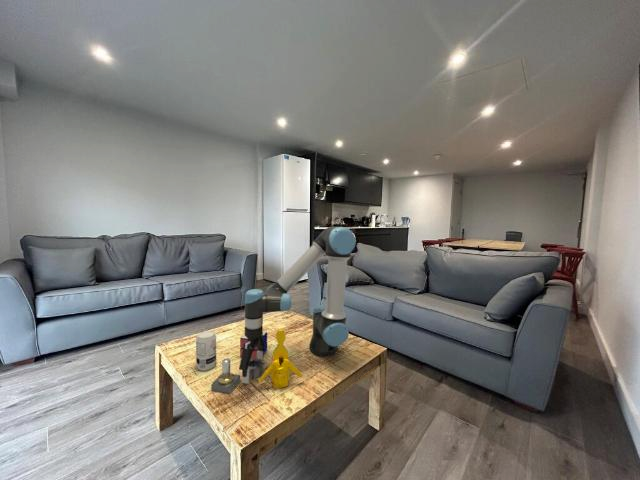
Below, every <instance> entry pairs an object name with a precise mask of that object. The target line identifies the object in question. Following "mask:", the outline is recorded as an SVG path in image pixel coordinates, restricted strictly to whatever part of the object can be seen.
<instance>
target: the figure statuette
mask: <svg viewBox="0 0 640 480" xmlns="http://www.w3.org/2000/svg"><path fill="white" fill-rule="evenodd" d="M275 338H276V341H277V345H276V347H274V349H273V351H272V362H271V364H269V366H268V367H267V369H266V370H265V371H264V372H263V374H262V376H261V377H259V378H258V382H259V383H262V382H263V381H264V380H265V379H266V378H267V377H268V376H269V375H270V378H271V379H270V380H271V383H272V384H273V387H272V388H274V389H276V390H278V389H283V388H285V387H287V386H288V385H289V380H290V376H291V373H290V372H291V371H292V373H294V374H295V375H297V376H298V377H299V378H301V377H303V373H301V372H300V371H299V369H298V368H297V367H296V366H295V365H294V364H293V362H292V361H291V360H290V359H289V357H290V356H289V351H288V349H287V347H286V346H285V345H284V343H285V341H286V333H285V331H284V328H282V327H281V328H278V329H277V331H276V334H275Z"/></svg>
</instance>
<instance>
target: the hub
mask: <svg viewBox="0 0 640 480" xmlns="http://www.w3.org/2000/svg"><path fill="white" fill-rule="evenodd" d="M248 367H249V380H255V379H260V378H261V377H262V375H263V374H264V372H265V371H264V360H263V361H262V360H261V359H256V358H255V359H254V358H253V359H250V363H249V366H248Z"/></svg>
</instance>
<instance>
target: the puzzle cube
mask: <svg viewBox="0 0 640 480" xmlns="http://www.w3.org/2000/svg"><path fill="white" fill-rule="evenodd" d="M263 338H264V342H265V347H264V348H265V351H264V350H263V356H264V355H265V353H266V352H267V351H268V331H264V330H263ZM239 340H240V342H239V344H240V345H239V347H240V348H239V357H240V358H241V357H242V352H243V344H244V343H247V341H248V338H247V337H246V336H245V334H243V335H242V336H241V337H240V339H239ZM250 349H251V348H250ZM257 350H258V349H257V347H255V349H254V352H252V356H251V359H253V358H254V359H255V358H256V359H257Z"/></svg>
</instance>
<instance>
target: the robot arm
mask: <svg viewBox="0 0 640 480" xmlns="http://www.w3.org/2000/svg"><path fill="white" fill-rule="evenodd" d="M356 244H357V243H356V237H355V235H354V233H353V232H352V231H351V230H350V229H348V228H346V227H344V226H329V227H327V228H325V229H323V230H322V232H320V233H319V235H318V236H317V237H316V238H315V239H314V240H313V241H312V245H311V246H310V247H309V248H308V249H307V250H306V251H305V252H304V253H303V254H302V255H301V256H300V257H299V258H298V259H297V260H296V261H295V262H294V263H293V264H292V265H291V267H289V268H288V269H287V270H286V271H285V272H284V274H282V276H280V278H278V279H277V281H276V282H274V284H273V283H272V284H271V285H269V286H268V287H267V289H266V293H264V291H263V290H262V289H257V288H256V289H255V288H254V289H253V288H252V289H249V290H247V291H246V292H245V295H244V296H245V297H244V319H243V320H244V335H245V336H246V337H247V338H248V341H247V343H244V344H243V352H242V357H240V362H239V368H238V369H239V370H240V371H241V372H242V374H241V383H242V384H248V385H249V384H250V379H249V367H248V366H249V363H250V359H251V356H252V352H254V349H255V347H257V349H258V350H257V359H261V360H262V361H263V362H264V355H263V350H264V351H265V348H264V347H265V342H264V338H263V331H264V327H263V325H264V313H274V312H275V313H278V312H283V313H284V312H288V311H291V308H292V297H291V294H290V293H288V292H289V291H291V289H292V288H293V287H294V286H295V285H296V284H297V283H298V282H299V281H300V280H301V279H302V278H303V277H304V276H305V275H306V274H307V273H308V272H309V271H310V270H311V269H312V268H313V267H314V266H315V265H316V264H317V263H318V261H320V260H321V258H322V257H324V256H325V257H326V258H327V261H328V263H327V273H326V274H327V275H326V277H327V278H326V290H325V291H326V292H325V293H326V294H325V304H319V305H316V306H314V307H313V311H312V314H313V315H312V316H313V317H312V335H311V339H310V340H309V341H310V342H309V345H308V346H309V347H308V350H309V352H310V353H311V354H313V355H314V356H317V357H331V356H334V355H336V354H337V353H338V352H339V351H338V350H339V347H340V346H341V345H342V344H344V343H345V342H346V341H347V340H348V338H349V336H350V335H349V328H348V326H347V324H346V323H347V313H346V312H345V311H344V307H345V293H346V280H347V279H346V278H347V266H348V265H347V264H348V260H350V259H351V257H352V252H353V251H354V249H355V246H356ZM250 348H251V349H250ZM336 352H337V353H336ZM335 353H336V354H335Z"/></svg>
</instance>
